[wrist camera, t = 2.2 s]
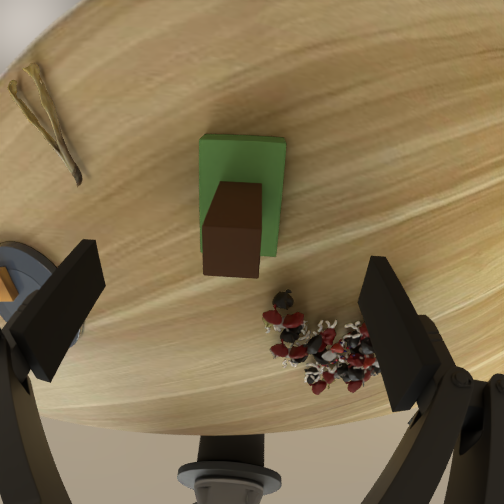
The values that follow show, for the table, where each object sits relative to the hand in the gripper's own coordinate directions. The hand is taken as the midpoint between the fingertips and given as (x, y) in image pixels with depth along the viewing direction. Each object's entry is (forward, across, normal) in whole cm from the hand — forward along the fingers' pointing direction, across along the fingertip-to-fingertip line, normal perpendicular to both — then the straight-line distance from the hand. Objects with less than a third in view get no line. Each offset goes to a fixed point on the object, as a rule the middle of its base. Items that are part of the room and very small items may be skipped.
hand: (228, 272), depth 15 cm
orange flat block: (+11, +29, +11) cm, 33 cm away
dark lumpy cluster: (+12, -10, +16) cm, 23 cm away
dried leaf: (+10, +17, -6) cm, 21 cm away
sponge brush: (+12, 0, 0) cm, 12 cm away
